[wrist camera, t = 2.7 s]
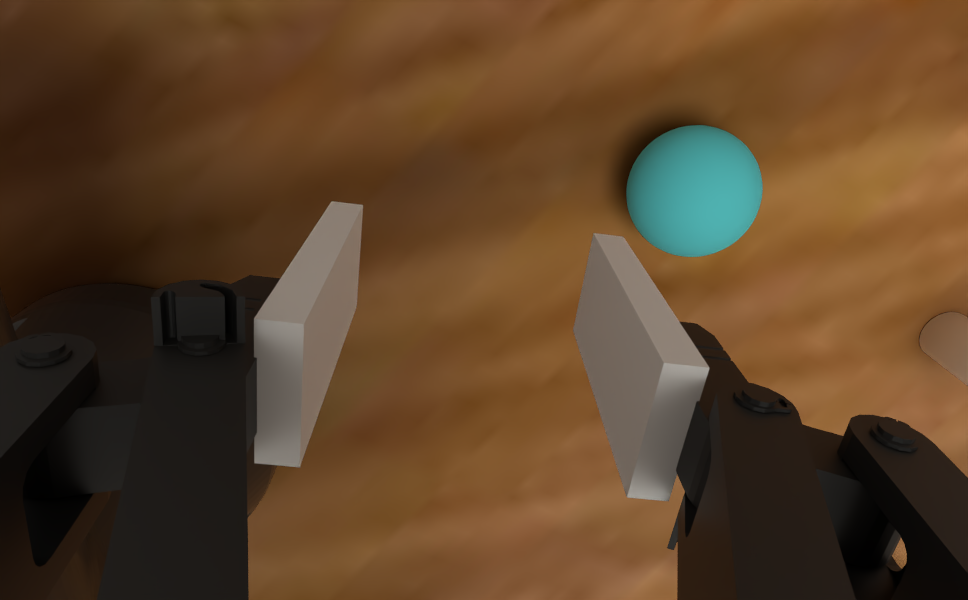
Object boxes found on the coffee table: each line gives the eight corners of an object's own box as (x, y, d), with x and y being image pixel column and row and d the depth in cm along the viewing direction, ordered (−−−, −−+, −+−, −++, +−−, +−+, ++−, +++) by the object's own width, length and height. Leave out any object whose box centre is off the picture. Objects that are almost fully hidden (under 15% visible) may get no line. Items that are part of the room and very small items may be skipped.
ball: (603, 225, 32) (629, 268, 27) (629, 107, 30) (662, 129, 25) (715, 239, 33) (761, 283, 28) (748, 123, 30) (804, 148, 25)
